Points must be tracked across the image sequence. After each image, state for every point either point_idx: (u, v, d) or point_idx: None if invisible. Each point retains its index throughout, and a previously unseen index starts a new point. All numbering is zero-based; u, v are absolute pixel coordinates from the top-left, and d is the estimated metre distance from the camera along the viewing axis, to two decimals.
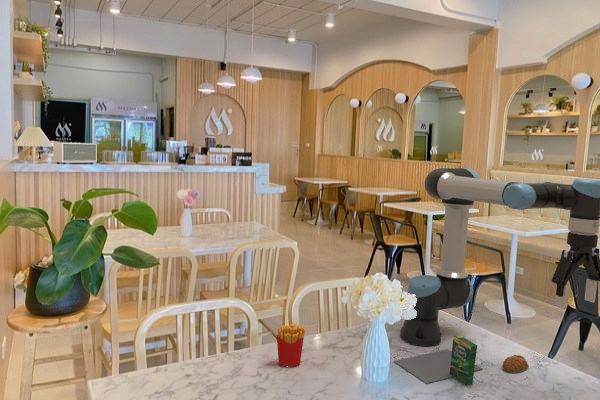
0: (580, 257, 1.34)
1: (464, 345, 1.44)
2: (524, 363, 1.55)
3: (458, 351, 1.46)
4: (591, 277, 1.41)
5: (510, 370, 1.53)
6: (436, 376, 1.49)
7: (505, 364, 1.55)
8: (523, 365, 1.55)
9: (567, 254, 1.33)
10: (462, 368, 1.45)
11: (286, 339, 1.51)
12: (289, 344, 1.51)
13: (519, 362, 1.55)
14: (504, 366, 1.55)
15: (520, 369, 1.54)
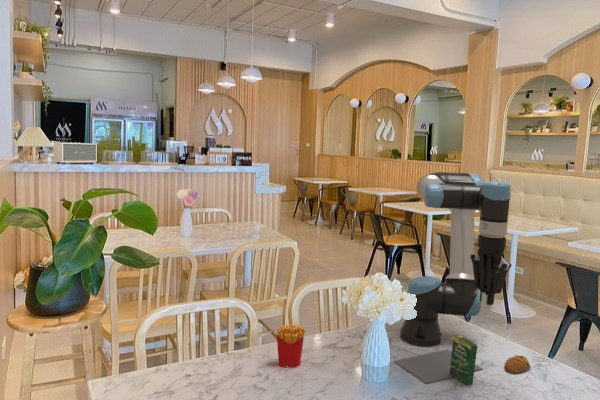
0: None
1: (464, 345, 1.44)
2: (526, 363, 1.55)
3: (458, 351, 1.46)
4: None
5: (513, 371, 1.53)
6: (436, 376, 1.49)
7: (507, 365, 1.55)
8: (525, 365, 1.54)
9: None
10: (462, 368, 1.45)
11: (286, 339, 1.51)
12: (289, 344, 1.51)
13: (521, 363, 1.55)
14: (506, 367, 1.54)
15: (522, 370, 1.54)
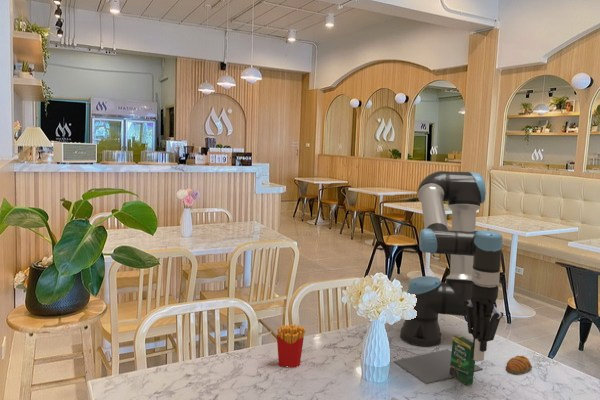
0: None
1: (464, 344, 1.44)
2: (528, 364, 1.55)
3: (458, 351, 1.47)
4: None
5: (515, 371, 1.52)
6: (436, 376, 1.49)
7: (509, 365, 1.54)
8: (527, 366, 1.54)
9: None
10: (462, 368, 1.45)
11: (286, 339, 1.51)
12: (289, 344, 1.51)
13: (523, 363, 1.54)
14: (508, 367, 1.54)
15: (524, 370, 1.53)
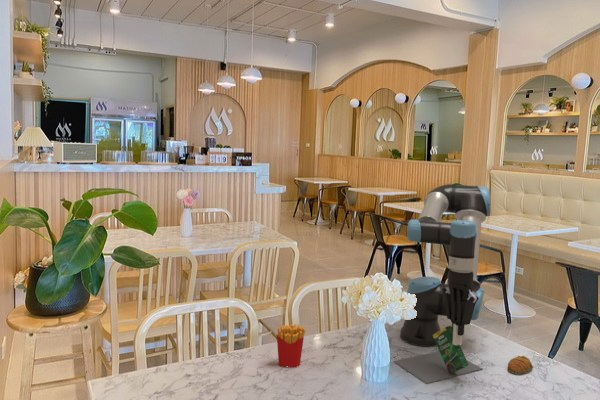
0: None
1: (441, 331, 1.53)
2: (529, 364, 1.55)
3: (441, 343, 1.53)
4: None
5: (517, 372, 1.52)
6: (436, 376, 1.49)
7: (511, 366, 1.54)
8: (528, 366, 1.54)
9: None
10: (452, 355, 1.49)
11: (286, 339, 1.51)
12: (289, 344, 1.51)
13: (524, 363, 1.54)
14: (510, 368, 1.54)
15: (526, 370, 1.53)
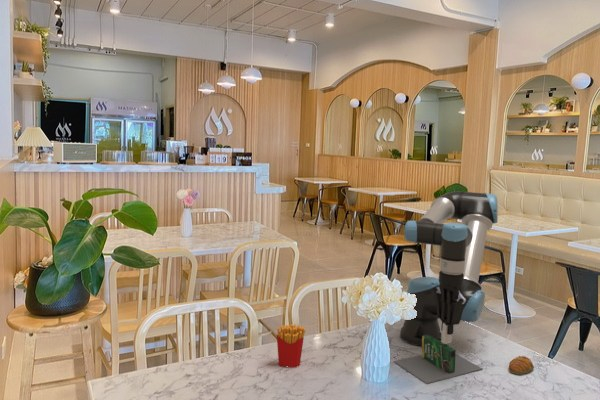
0: None
1: (422, 343, 1.61)
2: (530, 364, 1.55)
3: (429, 353, 1.58)
4: None
5: (518, 372, 1.52)
6: (436, 376, 1.49)
7: (512, 366, 1.54)
8: (529, 366, 1.54)
9: None
10: (439, 352, 1.54)
11: (286, 339, 1.51)
12: (289, 344, 1.51)
13: (525, 363, 1.54)
14: (511, 368, 1.53)
15: (527, 371, 1.53)
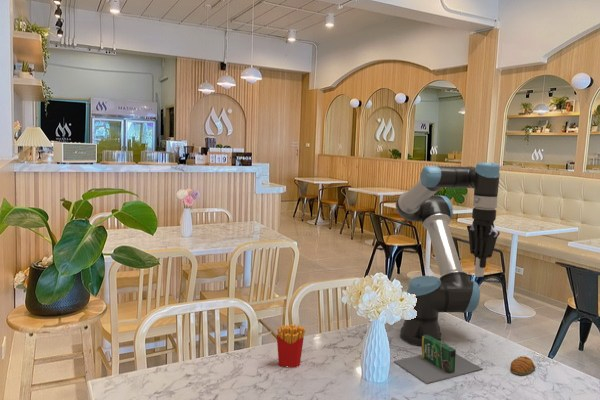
0: None
1: (422, 343, 1.61)
2: (532, 365, 1.55)
3: (429, 353, 1.58)
4: None
5: (520, 373, 1.52)
6: (436, 376, 1.49)
7: (513, 367, 1.54)
8: (531, 367, 1.54)
9: None
10: (439, 352, 1.54)
11: (286, 339, 1.51)
12: (289, 344, 1.51)
13: (527, 364, 1.54)
14: (513, 369, 1.53)
15: (529, 371, 1.53)
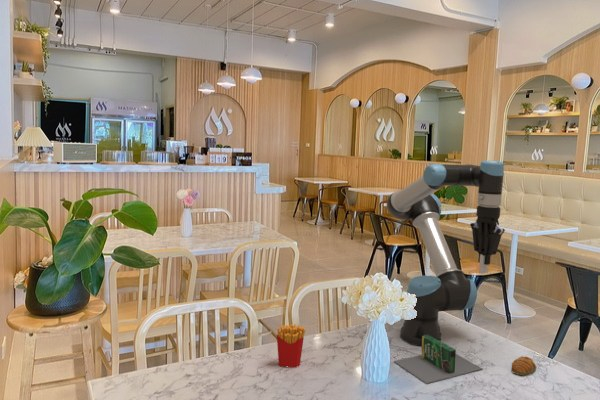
0: None
1: (422, 343, 1.61)
2: (533, 365, 1.54)
3: (429, 353, 1.58)
4: None
5: (521, 373, 1.51)
6: (436, 376, 1.49)
7: (515, 367, 1.53)
8: (532, 367, 1.54)
9: None
10: (439, 352, 1.54)
11: (286, 339, 1.51)
12: (289, 344, 1.51)
13: (528, 364, 1.54)
14: (514, 369, 1.53)
15: (530, 371, 1.53)
